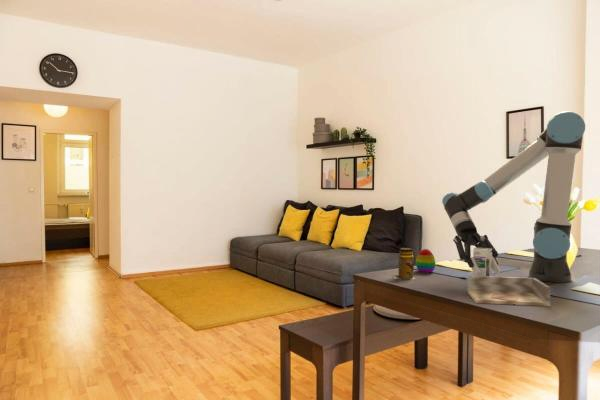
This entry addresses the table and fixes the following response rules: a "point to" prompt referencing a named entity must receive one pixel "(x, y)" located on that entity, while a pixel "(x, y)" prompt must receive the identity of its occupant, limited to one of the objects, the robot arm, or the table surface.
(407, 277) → the condiment
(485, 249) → the syrup box
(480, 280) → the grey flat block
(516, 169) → the robot arm
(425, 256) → the decorative egg
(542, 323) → the table surface
